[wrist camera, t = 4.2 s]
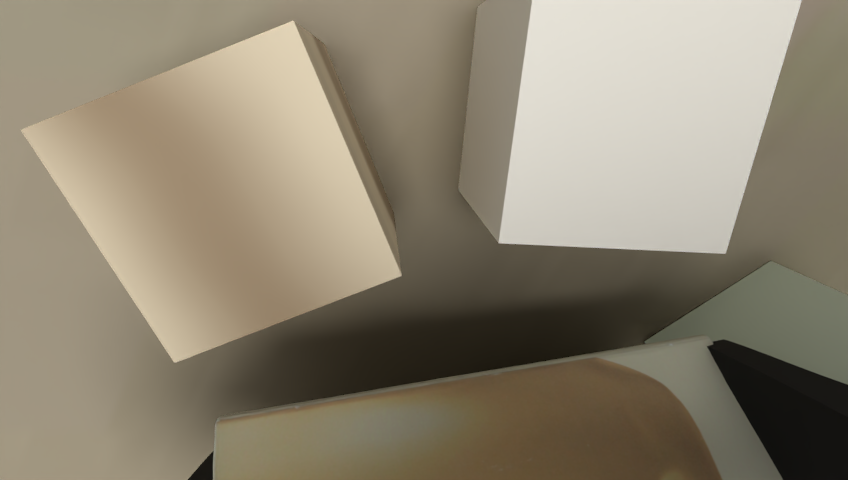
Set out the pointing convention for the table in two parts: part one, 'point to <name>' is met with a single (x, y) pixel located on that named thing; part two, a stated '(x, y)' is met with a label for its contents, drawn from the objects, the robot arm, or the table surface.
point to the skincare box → (514, 425)
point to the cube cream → (619, 118)
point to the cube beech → (227, 190)
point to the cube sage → (776, 320)
